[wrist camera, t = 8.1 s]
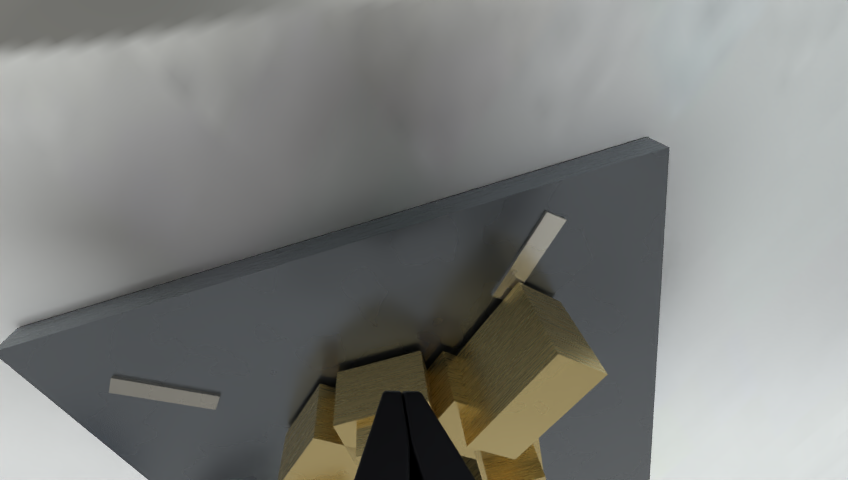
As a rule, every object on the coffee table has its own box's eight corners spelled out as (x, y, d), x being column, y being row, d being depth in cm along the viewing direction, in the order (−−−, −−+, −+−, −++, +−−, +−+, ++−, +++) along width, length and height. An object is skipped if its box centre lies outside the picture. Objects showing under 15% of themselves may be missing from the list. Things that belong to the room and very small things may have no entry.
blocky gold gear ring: (443, 514, 19) (456, 593, 17) (255, 478, 16) (234, 570, 13) (632, 336, 14) (690, 408, 12) (420, 234, 11) (437, 303, 9)
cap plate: (647, 137, 12) (760, 191, 8) (637, 460, 21) (690, 548, 18) (17, 328, 12) (-113, 450, 9) (278, 560, 22) (262, 664, 18)
